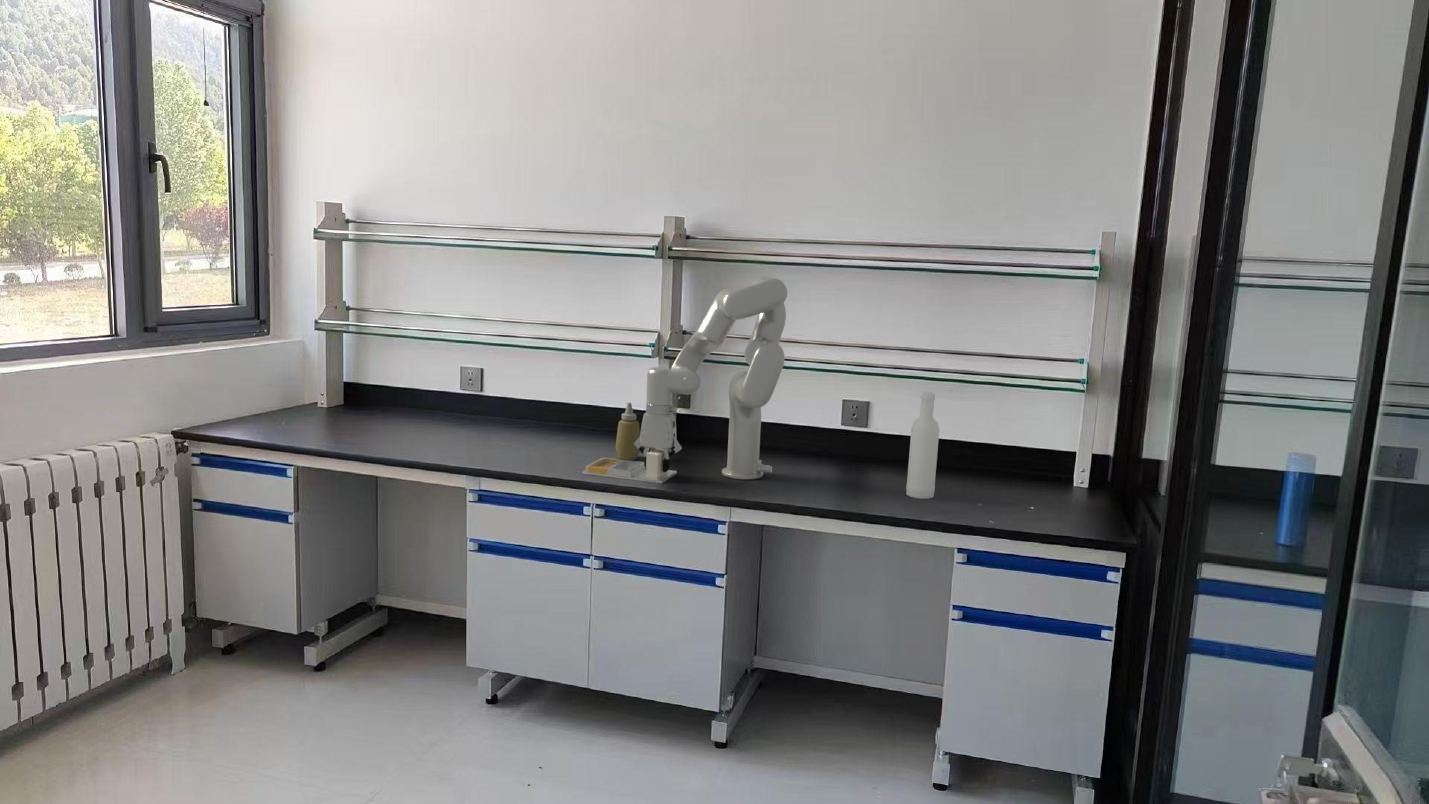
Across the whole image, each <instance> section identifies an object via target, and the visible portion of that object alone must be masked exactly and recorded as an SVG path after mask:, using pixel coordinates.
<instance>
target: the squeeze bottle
mask: <svg viewBox="0 0 1429 804" xmlns="http://www.w3.org/2000/svg"><path fill="white" fill-rule="evenodd" d="M640 434H641V428H640V422H639V421H638V420H637V414H636V413H634V410H633V405H632V402H627V403H626V408H625V411H624V413H621V420H619V421H618V424H617V433H616V441H615V450H616V454H617V459H621V460H630V461H635V460H636V459H638V455H639V453H640V452H641V451H640V450H639V449H638V448H637V447H636V446H635V445H634V443H635V441H636V440H637V439H638V438H639V437H640Z"/></svg>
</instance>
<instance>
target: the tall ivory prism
mask: <svg viewBox="0 0 1429 804" xmlns="http://www.w3.org/2000/svg"><path fill="white" fill-rule="evenodd" d="M663 459H665V455H664V451H663V449H658V448H653V449H651V451H650V452H649V453H647V456H646V477H650V478H658V477H660V476H661V475H663V474H665V473H666V472H663ZM667 472H668V471H667Z"/></svg>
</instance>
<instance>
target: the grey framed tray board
mask: <svg viewBox="0 0 1429 804" xmlns="http://www.w3.org/2000/svg"><path fill="white" fill-rule="evenodd" d="M677 474H678V473H677V470H671V469H669V470H668V472H666V473H665V474H663V475H661V476H660V477H658V478H650V477H646V470H645V466H644V461H637V460H623V459H619V458H611V457H601V458H599V459H597V460H595V461H593V462H591V463H589V464H587V465H585V469H583V470H582V475H590V476H595V477H596V476H598V477H604V478H605V477H606V478H613V479H622V480H629V481H630V480H631V481H638V482H644V483H645V482H646V483H654V484H655V483H656V484H663V483H665V482H666V481H668V480H669V479H671V478H673V477H674V476H675V475H677Z"/></svg>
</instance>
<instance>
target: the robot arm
mask: <svg viewBox="0 0 1429 804" xmlns="http://www.w3.org/2000/svg"><path fill="white" fill-rule="evenodd" d="M787 297H788V288H787V286H786V284H785V283H784V282H783V281H782V280H780V279H778V278H775V277H769V276H759V277H757V278H754V279H753V280H752V282H751V283H750V286H747V287H743V288H739V289H734V288H725V289H722V290H720V291H719V292H718V293H717V295H716V296H715V297H714V299H713V301H712V303H711V304H710V306H709V308H708V310H707V311H706V313H705V315H704V317H703V319H702V320H701V323H699V324H700V325H699V326H698V328H697V329H696V330H695V332H694V333H693V334H692V335H691V337H690V339H689V340H688V341H687V342H686V343H685V344H684V346H683V347H682V349H681V350H680V352H679V353H678V355H677V356H676V358H675V360H674V362H673V364H672V365H671V367H670V368H669V367H663V366H661V367H660V366H657V367H655V366H653V367H650V368H649V369H648V370H647V372H646V373H647V374H646V400H645V401H646V403H645V405H646V406H645V407H646V409H645V413H643V417H642V421H641V427H640V437H639V438H638V439H637V440H636V441H635V443H634V445H635V446H636V447H637V448H638V449H639V450H640V451H639V452H640V453H641V454H642V456H643V457H644V458H643V459H644V460H643V462H644V466H645V470H646V456H647V453H649V452H650V451H652V449H656V448H658V449H663V451H664V455H665V459H663V472H667V471H668V470H671V458H672V457H673V456H674V455H675V454H677V453H678V452H680V451H681V450H682V449H683V447H682V445H681V444H680V443H679V441H678V440H677V439H678V438H677V423H676V416H675V414H673V413H676V412H677V407H675V406H674V404H673V393H674V394H680V395H692V394H694V393H696V392H698V390H699V389H700V388H701V384H702V379H701V377H700V374H699V373H698V372H697V371H698V369H699V367H701V364H702V363H703V362H704V360H705V359H706V358H707V357H708V356H709V355H710V354H711V353H713V352H715V351H716V350H718V349H719V348H720V347H721V346H722V345H723V343H724V342H725V341H726V338H727V336H729V333H730V331H731V330H732V328H733V326H734V324H735V322H736V321H737V320H742V319H743V320H744V319H746V318H750V317H754V316H756V320H755V323H754V326H753V330H752V332H751V335H750V338H749V340H748V342H747V344H746V345H747V346H746V347H745V350H744V360H745V362H746V363H747V364H748V365H749V367H748V370H742V371H739V372H737V373H735V374H734V375H733V376H732V377H731V380H730V382H729V385H728V400H729V418H728V420H729V422H728V443H727V460H726V461H727V464H726V467H724V468H721V475H723V476H724V477H725V478H726V477H727V478H731V479H735V480H756V479H760V478H762V477H764V473H768V474H769V473H770V474H771V473H772V472H773V466H771V465H769V464H764V463H762V459H760V446H761V426H762V408H763V407H764V406H766V405H767V404H768V403H769V401H770V400H771V398H772V396H773V394H774V393H775V392H774V391H775V389H776V386H777V384H778V381H779V378H780V376H781V373H782V371H783V368H784V365H785V352H784V349H783V347H782V346H781V345H780V342H781V338H782V334H783V331H784V329H785V326H786V320H787V311H786V307H785V301H786V299H787ZM673 447H674V449H672V448H673Z"/></svg>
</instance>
